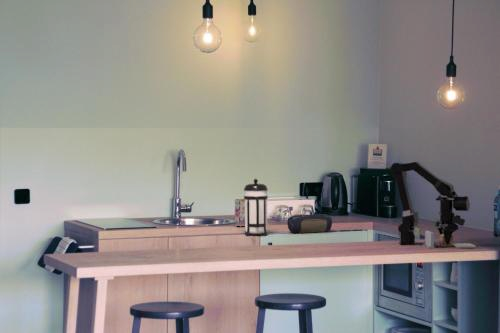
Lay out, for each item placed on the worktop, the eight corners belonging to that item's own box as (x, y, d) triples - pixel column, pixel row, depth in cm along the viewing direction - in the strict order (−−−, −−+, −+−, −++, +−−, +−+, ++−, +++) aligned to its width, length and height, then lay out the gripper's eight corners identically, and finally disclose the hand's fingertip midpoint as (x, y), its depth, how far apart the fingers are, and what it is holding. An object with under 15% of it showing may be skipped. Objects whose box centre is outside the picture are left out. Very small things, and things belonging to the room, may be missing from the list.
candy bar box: (239, 227, 473) (239, 199, 472) (234, 227, 477) (234, 199, 476) (254, 226, 480) (254, 198, 479) (249, 225, 484) (248, 198, 483)
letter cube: (442, 246, 377) (442, 235, 376) (439, 245, 382) (439, 234, 382) (453, 246, 377) (453, 235, 377) (450, 245, 382) (450, 234, 382)
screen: (429, 248, 373) (429, 233, 373) (423, 245, 384) (423, 230, 384) (435, 248, 374) (435, 232, 373) (429, 245, 385) (429, 230, 384)
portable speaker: (292, 234, 434) (292, 216, 434) (285, 232, 444) (285, 214, 443) (335, 232, 443) (335, 214, 442) (327, 231, 452) (327, 213, 452)
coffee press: (234, 235, 432) (234, 179, 431) (256, 232, 443) (255, 178, 443) (257, 237, 420) (257, 179, 419) (279, 235, 431) (278, 178, 430)
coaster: (456, 247, 375) (456, 245, 375) (451, 245, 384) (451, 243, 384) (475, 247, 375) (475, 245, 375) (469, 245, 384) (469, 243, 384)
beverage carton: (404, 239, 411) (404, 226, 411) (397, 235, 431) (397, 222, 430) (420, 239, 411) (420, 226, 411) (412, 235, 431) (412, 222, 430)
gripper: (469, 211, 370) (469, 245, 370) (457, 208, 388) (457, 241, 389) (445, 212, 369) (445, 246, 370) (434, 208, 388) (434, 241, 388)
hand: (446, 243), depth 379 cm, fingers closed on letter cube, 5 cm apart
